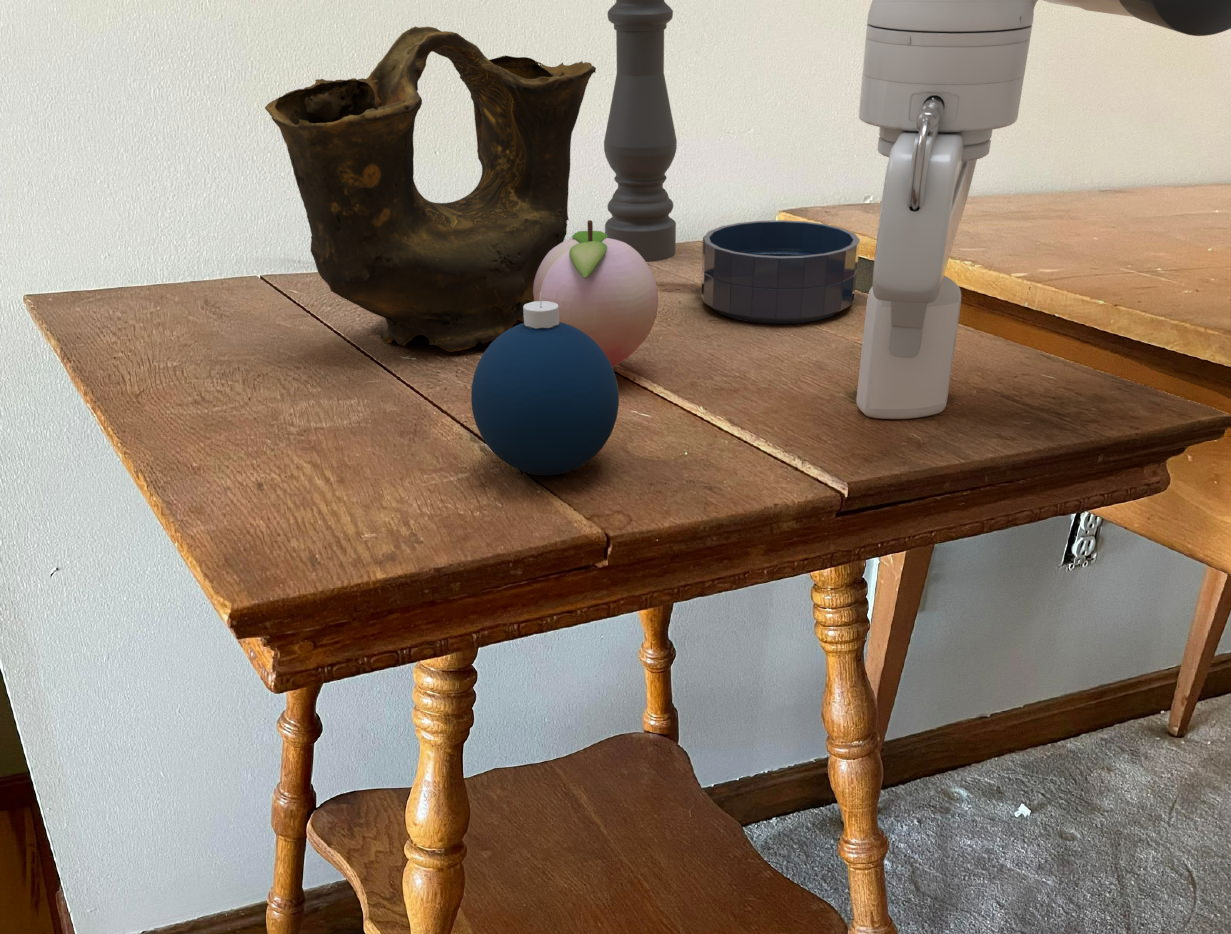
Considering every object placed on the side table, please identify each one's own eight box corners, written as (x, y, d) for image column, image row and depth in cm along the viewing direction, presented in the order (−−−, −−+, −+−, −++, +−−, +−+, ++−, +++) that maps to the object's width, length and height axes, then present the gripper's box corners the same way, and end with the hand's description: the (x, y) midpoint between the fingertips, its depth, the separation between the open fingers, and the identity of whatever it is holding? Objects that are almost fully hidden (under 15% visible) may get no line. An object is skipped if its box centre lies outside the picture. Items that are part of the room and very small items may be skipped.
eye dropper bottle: (938, 427, 79) (968, 220, 72) (850, 417, 81) (870, 213, 73) (949, 404, 82) (979, 204, 75) (863, 395, 84) (885, 198, 77)
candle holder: (595, 269, 110) (587, -81, 95) (619, 252, 115) (616, -85, 100) (662, 275, 109) (665, -82, 93) (684, 257, 113) (690, -85, 98)
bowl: (861, 289, 104) (868, 224, 101) (841, 332, 95) (847, 261, 92) (719, 281, 107) (721, 217, 104) (686, 321, 98) (687, 252, 95)
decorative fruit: (669, 394, 85) (671, 233, 79) (547, 402, 84) (540, 240, 78) (643, 351, 92) (643, 202, 86) (532, 358, 91) (524, 207, 85)
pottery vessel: (545, 287, 106) (532, 7, 94) (630, 315, 99) (629, 17, 87) (279, 352, 93) (225, 36, 81) (357, 388, 86) (311, 51, 74)
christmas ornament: (625, 495, 71) (623, 311, 65) (476, 501, 71) (461, 317, 65) (613, 441, 78) (611, 269, 72) (477, 446, 78) (463, 275, 71)
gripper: (990, 117, 62) (948, 398, 70) (1006, 63, 77) (970, 298, 86) (860, 113, 63) (835, 389, 72) (902, 61, 79) (877, 292, 87)
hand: (909, 339), depth 79 cm, fingers open, 5 cm apart
